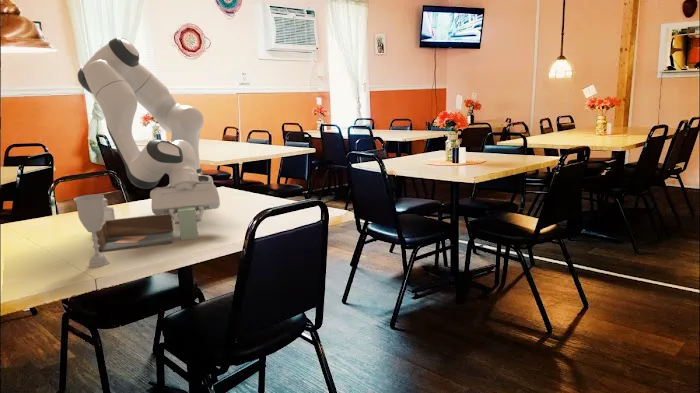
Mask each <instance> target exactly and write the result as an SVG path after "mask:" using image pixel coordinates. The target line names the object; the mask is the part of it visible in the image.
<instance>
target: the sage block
mask: <svg viewBox="0 0 700 393" xmlns="http://www.w3.org/2000/svg"><path fill="white" fill-rule="evenodd" d="M196 215H197V211H195V206H193V207H183V208H178V213H177V217H178V219H179V224H178V225H179V226H178V227H179V234H180V240H181V241H185V240H193V239H194V240H195V239H199V232H198V224H197V223H198V222H197V221H196Z"/></svg>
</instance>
